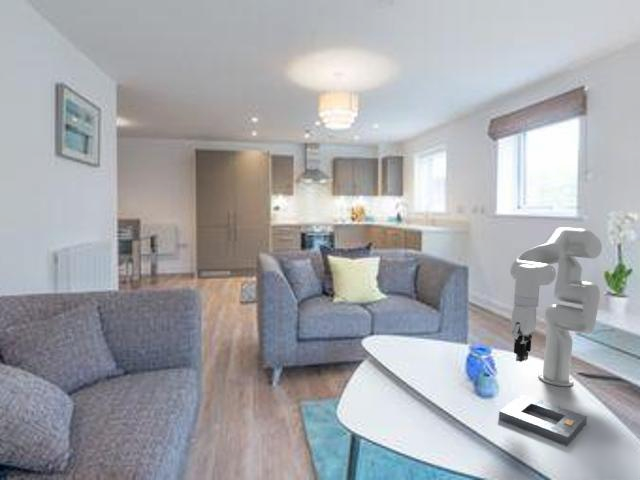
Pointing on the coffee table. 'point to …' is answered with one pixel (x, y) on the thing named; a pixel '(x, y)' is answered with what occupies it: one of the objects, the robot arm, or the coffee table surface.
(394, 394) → the coffee table surface
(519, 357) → the black knob lever
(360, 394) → the coffee table surface
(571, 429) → the frame
